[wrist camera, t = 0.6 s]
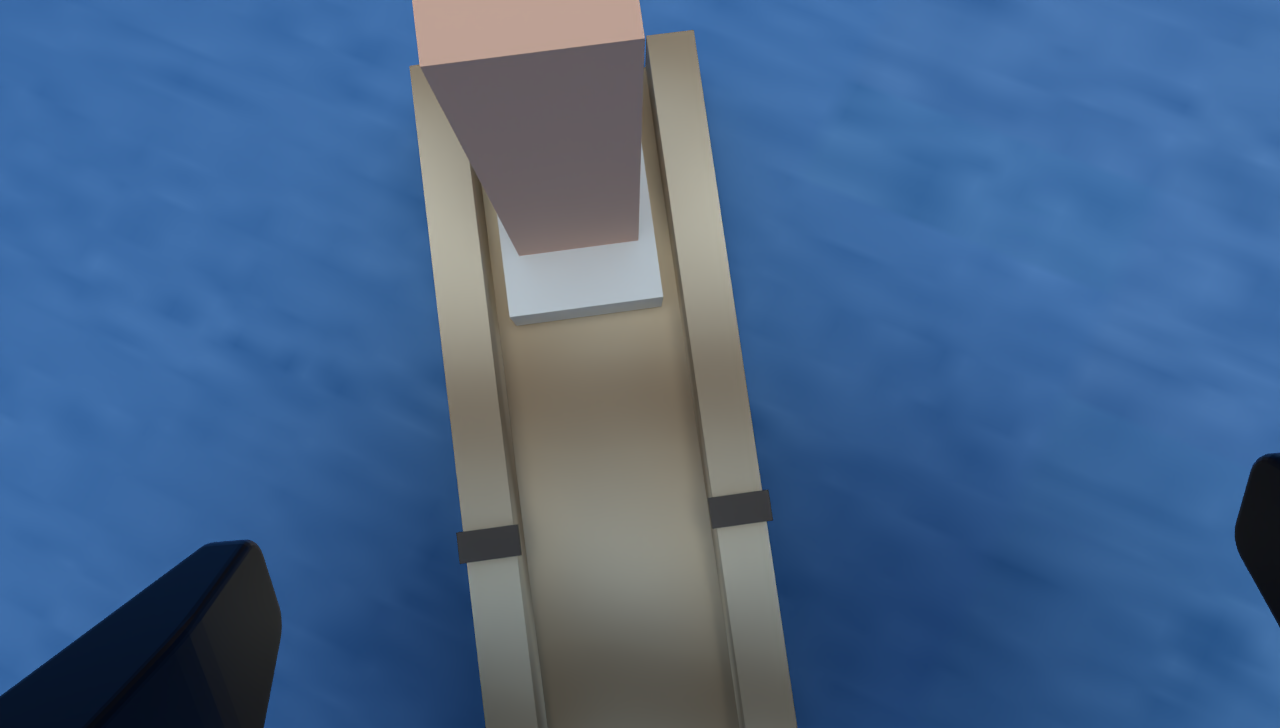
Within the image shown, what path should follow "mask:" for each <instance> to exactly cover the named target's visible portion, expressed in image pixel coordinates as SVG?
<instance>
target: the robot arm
mask: <svg viewBox="0 0 1280 728" xmlns="http://www.w3.org/2000/svg"><path fill="white" fill-rule="evenodd" d="M1235 541H1236V546H1237V549H1238V552H1239V554H1240V556H1241V558H1242V560H1243V562H1244V564H1245V566H1246V567H1247V569H1248V571H1249V573H1250V574H1251V576H1252V578H1253V580H1254V582H1255V583H1256V585H1257V587H1258V589H1259V591H1260V592H1261V594H1262V596H1263V598H1264V600H1265V601H1266V603H1267V605H1268V607H1269V609H1270V610H1271V612H1272V614H1273V616H1274V618H1275V619H1276V621H1277V623H1278V625H1279V627H1280V453H1271V454H1266V455H1264V456H1262V457H1260V458H1258V459H1257V461H1256V462H1255V463H1254V464H1253V466H1252V469H1251V472H1250V475H1249V479H1248V482H1247V486H1246V489H1245V493H1244V496H1243V500H1242V503H1241V507H1240V511H1239V514H1238V518H1237V521H1236V525H1235ZM281 629H282V622H281V612H280V608H279V604H278V601H277V598H276V595H275V592H274V588H273V585H272V582H271V579H270V576H269V573H268V569H267V566H266V563H265V560H264V557H263V554H262V551H261V549H260V548H259V546H258V545H257V544H256V543H255V542H253V541H251V540H236V541H224V542H213V543H209V544H206V545H204V546H202V547H201V548H200V549H198V550H197V551H195V552H194V553H193V554H191V555H190V556H189V557H187V558H186V559H185V560H183V561H182V562H181V563H179V564H178V565H177V566H175V567H174V568H173V569H171V570H170V571H168V572H167V573H166V574H164V575H163V576H162V577H160V578H159V579H158V580H156V581H155V582H154V583H152V584H151V585H150V586H148V587H147V588H146V589H144V590H143V591H142V592H140V593H139V594H137V595H136V596H135V597H133V598H132V599H131V600H129V601H128V602H127V603H125V604H124V605H123V606H121V607H120V608H119V609H117V610H116V611H115V612H113V613H112V614H111V615H109V616H108V617H106V618H105V619H104V620H102V621H101V622H100V623H98V624H97V625H96V626H94V627H93V628H92V629H90V630H89V631H88V632H86V633H85V634H84V635H82V636H81V637H80V638H78V639H77V640H75V641H74V642H73V643H71V644H70V645H69V646H67V647H66V648H65V649H63V650H62V651H61V652H59V653H58V654H57V655H55V656H54V657H53V658H51V659H50V660H48V661H47V662H46V663H44V664H43V665H42V666H40V667H39V668H38V669H36V670H35V671H34V672H32V673H31V674H30V675H28V676H27V677H26V678H24V679H23V680H21V681H20V682H19V683H17V684H16V685H15V686H13V687H12V688H11V689H9V690H8V691H7V692H5V693H4V694H3V695H1V696H0V728H264V723H265V718H266V713H267V707H268V702H269V697H270V691H271V686H272V681H273V676H274V670H275V665H276V660H277V654H278V649H279V644H280V638H281Z"/></svg>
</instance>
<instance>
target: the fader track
mask: <svg viewBox="0 0 1280 728" xmlns="http://www.w3.org/2000/svg"><path fill="white" fill-rule="evenodd" d="M410 75H411V83H412V92H413V101H414V109H415V118H416V127H417V135H418V144H419V153H420V162H421V170H422V179H423V188H424V196H425V205H426V214H427V222H428V231H429V240H430V248H431V257H432V266H433V274H434V283H435V292H436V300H437V309H438V318H439V326H440V335H441V344H442V352H443V361H444V370H445V378H446V387H447V396H448V405H449V413H450V422H451V431H452V439H453V448H454V457H455V465H456V474H457V483H458V491H459V500H460V509H461V517H462V526H463V532H458V533H456V535H457V543H458V552H459V561H460V564H463V563H467V569H468V578H469V587H470V595H471V604H472V613H473V621H474V630H475V639H476V648H477V656H478V665H479V674H480V682H481V691H482V700H483V708H484V717H485V726H486V728H797V722H796V715H795V709H794V702H793V695H792V689H791V682H790V675H789V668H788V662H787V655H786V648H785V641H784V635H783V628H782V621H781V615H780V608H779V601H778V594H777V588H776V581H775V574H774V567H773V561H772V554H771V547H770V541H769V534H768V527H767V521H772V520H773V517H772V511H771V504H770V497H769V491H768V490H762V487H761V480H760V473H759V467H758V460H757V453H756V446H755V440H754V433H753V426H752V419H751V413H750V406H749V399H748V393H747V386H746V379H745V372H744V366H743V359H742V352H741V345H740V339H739V332H738V325H737V319H736V312H735V305H734V298H733V292H732V285H731V278H730V271H729V265H728V258H727V251H726V245H725V238H724V231H723V224H722V218H721V211H720V204H719V197H718V191H717V184H716V177H715V171H714V164H713V157H712V150H711V144H710V137H709V130H708V123H707V117H706V110H705V103H704V97H703V90H702V83H701V76H700V70H699V63H698V56H697V49H696V43H695V36H694V30H689V31H681V32H673V33H665V34H658V35H650V36H646V65H645V67H644V74H643V107H642V139H641V143H642V150H643V157H644V164H645V171H646V178H647V185H648V192H649V199H650V206H651V214H652V221H653V228H654V235H655V242H656V249H657V256H658V263H659V270H660V277H661V285H662V292H663V301H662V306H661V307H654V308H646V309H639V310H631V311H624V312H616V313H609V314H601V315H594V316H586V317H579V318H571V319H564V320H556V321H549V322H541V323H534V324H526V325H519V326H516V325H515V323H514V322H513V321H512V320H511V318H510V316H509V308H508V300H507V292H506V284H505V275H504V267H503V259H502V251H501V243H500V235H499V227H498V219H497V213H496V211H495V209H494V207H493V205H492V203H491V201H490V200H489V198H488V196H487V194H486V192H485V190H484V188H483V186H482V184H481V182H480V180H479V179H478V177H477V175H476V173H475V171H474V169H473V167H472V165H471V163H470V161H469V159H468V158H467V156H466V154H465V152H464V150H463V148H462V146H461V144H460V142H459V140H458V138H457V137H456V135H455V133H454V131H453V129H452V127H451V125H450V123H449V121H448V119H447V117H446V116H445V114H444V112H443V110H442V108H441V106H440V104H439V102H438V100H437V98H436V96H435V95H434V93H433V91H432V89H431V87H430V85H429V83H428V81H427V79H426V77H425V76H424V74H423V72H422V70H421V68H420V65H413V66H410Z"/></svg>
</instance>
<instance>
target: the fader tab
mask: <svg viewBox="0 0 1280 728" xmlns="http://www.w3.org/2000/svg"><path fill="white" fill-rule="evenodd" d="M412 3H413V12H414V20H415V29H416V37H417V46H418V55H419V63H420V68H421V70H422V72H423V74H424V76H425V77H426V79H427V81H428V83H429V85H430V87H431V89H432V91H433V93H434V95H435V96H436V98H437V100H438V102H439V104H440V106H441V108H442V110H443V112H444V114H445V116H446V117H447V119H448V121H449V123H450V125H451V127H452V129H453V131H454V133H455V135H456V137H457V138H458V140H459V142H460V144H461V146H462V148H463V150H464V152H465V154H466V156H467V158H468V159H469V161H470V163H471V165H472V167H473V169H474V171H475V173H476V175H477V177H478V179H479V180H480V182H481V184H482V186H483V188H484V190H485V192H486V194H487V196H488V198H489V200H490V201H491V203H492V205H493V207H494V209H495V211H496V213H497V219H498V227H499V235H500V243H501V251H502V259H503V267H504V275H505V284H506V292H507V300H508V308H509V316H510V318H511V320H512V321H513V322H514V323H515V325H516V326H519V325H526V324H534V323H541V322H549V321H556V320H564V319H571V318H579V317H586V316H594V315H601V314H609V313H616V312H624V311H631V310H639V309H646V308H654V307H661V306H662V301H663V292H662V285H661V277H660V270H659V263H658V256H657V249H656V242H655V235H654V228H653V221H652V214H651V206H650V199H649V192H648V185H647V178H646V171H645V164H644V157H643V150H642V143H641V139H642V107H643V74H644V42H645V37H644V30H643V23H642V16H641V9H640V2H639V0H412Z"/></svg>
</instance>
